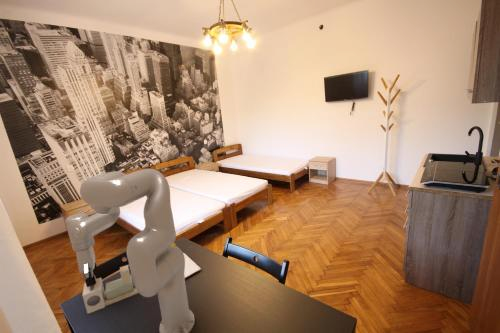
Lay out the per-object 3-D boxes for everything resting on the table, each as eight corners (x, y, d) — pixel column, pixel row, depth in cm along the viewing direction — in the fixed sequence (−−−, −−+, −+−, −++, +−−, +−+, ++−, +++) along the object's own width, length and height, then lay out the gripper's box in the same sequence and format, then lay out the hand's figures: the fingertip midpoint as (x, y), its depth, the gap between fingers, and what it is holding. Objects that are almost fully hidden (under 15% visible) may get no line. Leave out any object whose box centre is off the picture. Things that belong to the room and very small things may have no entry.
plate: (149, 272, 115) (149, 268, 115) (184, 255, 127) (183, 252, 127) (164, 292, 102) (164, 288, 101) (201, 271, 114) (201, 268, 113)
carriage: (133, 291, 101) (129, 270, 98) (107, 301, 96) (102, 280, 94) (132, 282, 106) (128, 263, 104) (107, 291, 101) (102, 271, 99)
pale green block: (150, 288, 104) (148, 277, 103) (104, 306, 96) (101, 294, 94) (148, 278, 110) (146, 268, 109) (105, 295, 102) (102, 283, 100)
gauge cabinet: (104, 307, 95) (100, 289, 93) (87, 314, 92) (82, 295, 90) (105, 294, 102) (101, 277, 100) (89, 300, 99) (84, 282, 97)
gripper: (75, 236, 100) (84, 269, 104) (68, 257, 85) (79, 295, 89) (95, 231, 103) (103, 263, 108) (92, 250, 89) (101, 287, 93)
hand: (92, 277), depth 98 cm, fingers open, 9 cm apart
